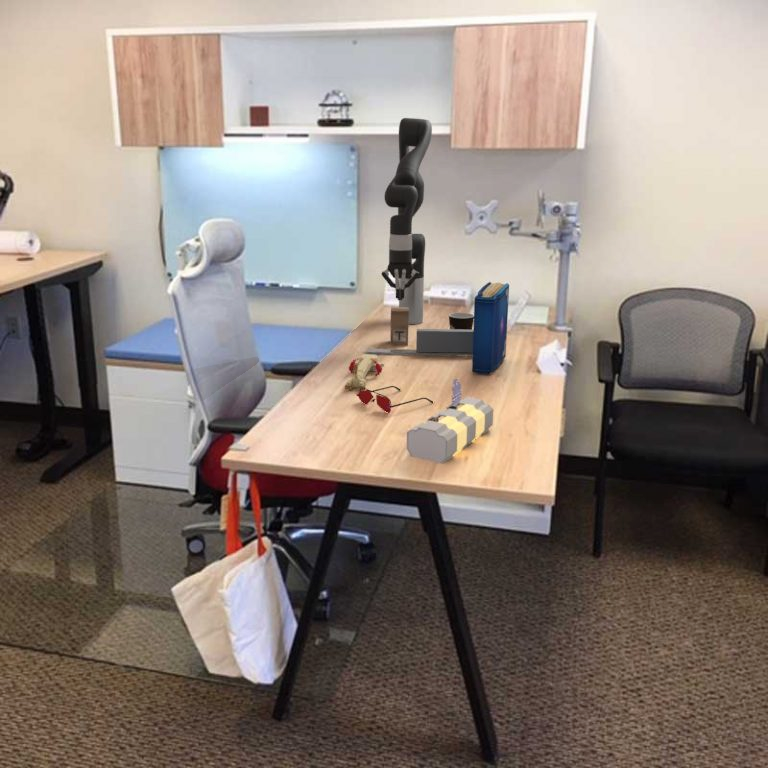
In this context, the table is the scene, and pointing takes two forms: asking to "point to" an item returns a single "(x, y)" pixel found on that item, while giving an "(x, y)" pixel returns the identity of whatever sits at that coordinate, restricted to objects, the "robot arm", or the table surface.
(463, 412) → the grey yellow banded box
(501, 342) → the book
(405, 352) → the rail
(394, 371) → the table surface
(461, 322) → the coffee mug
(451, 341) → the panel
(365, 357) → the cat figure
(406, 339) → the walnut block
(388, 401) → the glasses
